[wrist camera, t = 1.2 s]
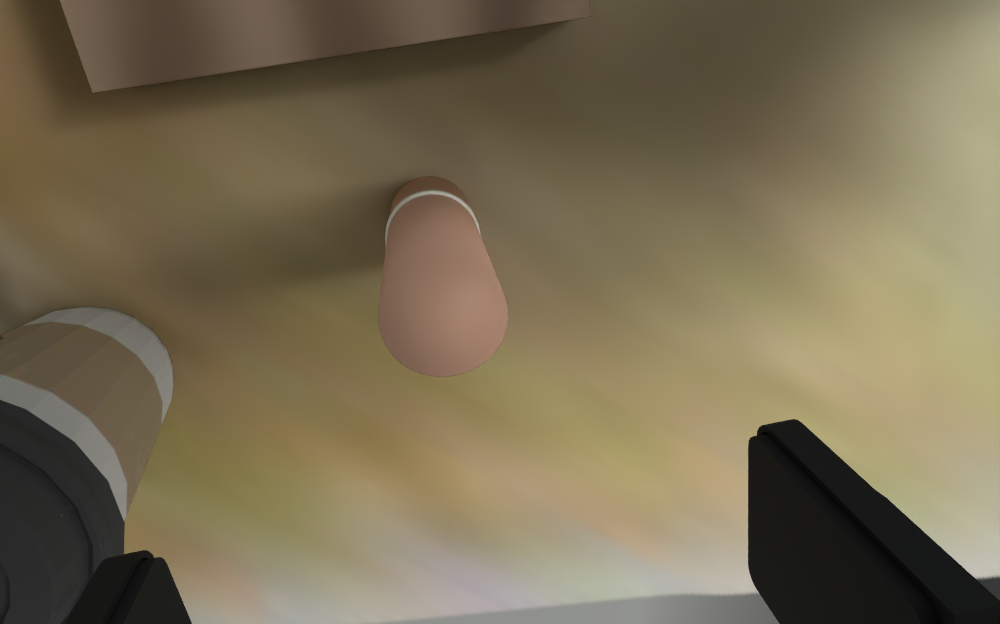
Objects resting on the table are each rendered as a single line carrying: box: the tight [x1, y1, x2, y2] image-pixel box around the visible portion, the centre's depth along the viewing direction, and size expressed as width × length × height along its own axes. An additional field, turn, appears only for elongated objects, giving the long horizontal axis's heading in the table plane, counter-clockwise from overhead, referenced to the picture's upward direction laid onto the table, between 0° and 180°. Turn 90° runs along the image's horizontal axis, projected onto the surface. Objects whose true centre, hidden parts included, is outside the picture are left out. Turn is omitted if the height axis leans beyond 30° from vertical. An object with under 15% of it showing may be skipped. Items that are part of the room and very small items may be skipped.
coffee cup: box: [0, 306, 173, 624], centre depth 27 cm, size 11×11×15 cm
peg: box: [378, 176, 508, 377], centre depth 27 cm, size 4×4×14 cm
